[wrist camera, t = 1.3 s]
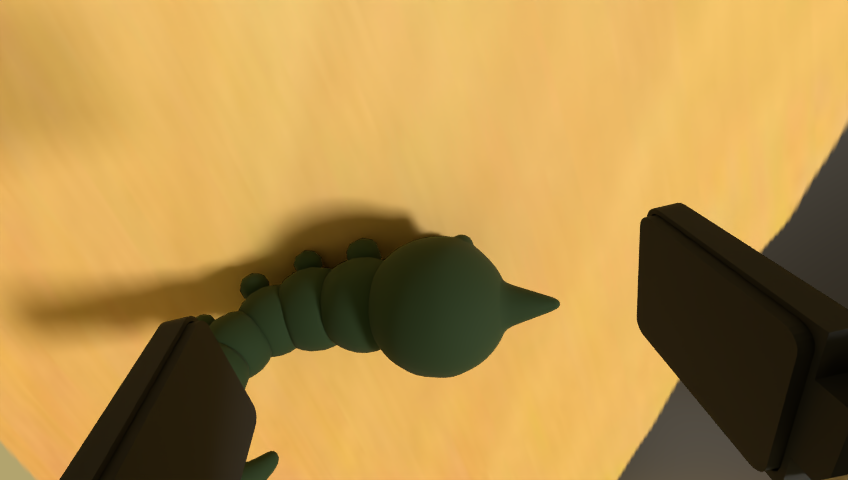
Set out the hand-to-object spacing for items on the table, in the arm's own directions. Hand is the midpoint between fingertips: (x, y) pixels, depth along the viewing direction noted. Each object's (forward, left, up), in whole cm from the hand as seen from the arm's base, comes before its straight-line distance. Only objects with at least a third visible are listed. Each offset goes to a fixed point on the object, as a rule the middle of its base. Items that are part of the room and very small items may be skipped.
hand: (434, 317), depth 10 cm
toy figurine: (+12, -6, -24) cm, 27 cm away
